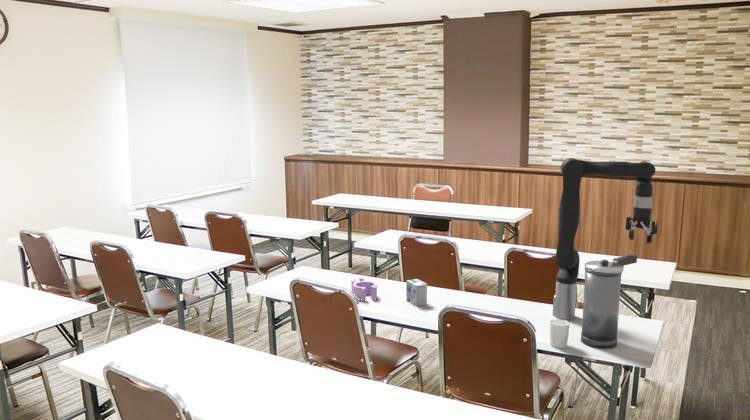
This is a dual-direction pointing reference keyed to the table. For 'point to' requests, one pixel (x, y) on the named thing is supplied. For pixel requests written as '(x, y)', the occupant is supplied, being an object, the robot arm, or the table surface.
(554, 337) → the white cup
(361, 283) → the clip
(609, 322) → the canister
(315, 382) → the table surface
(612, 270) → the lid
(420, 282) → the light bulb box
